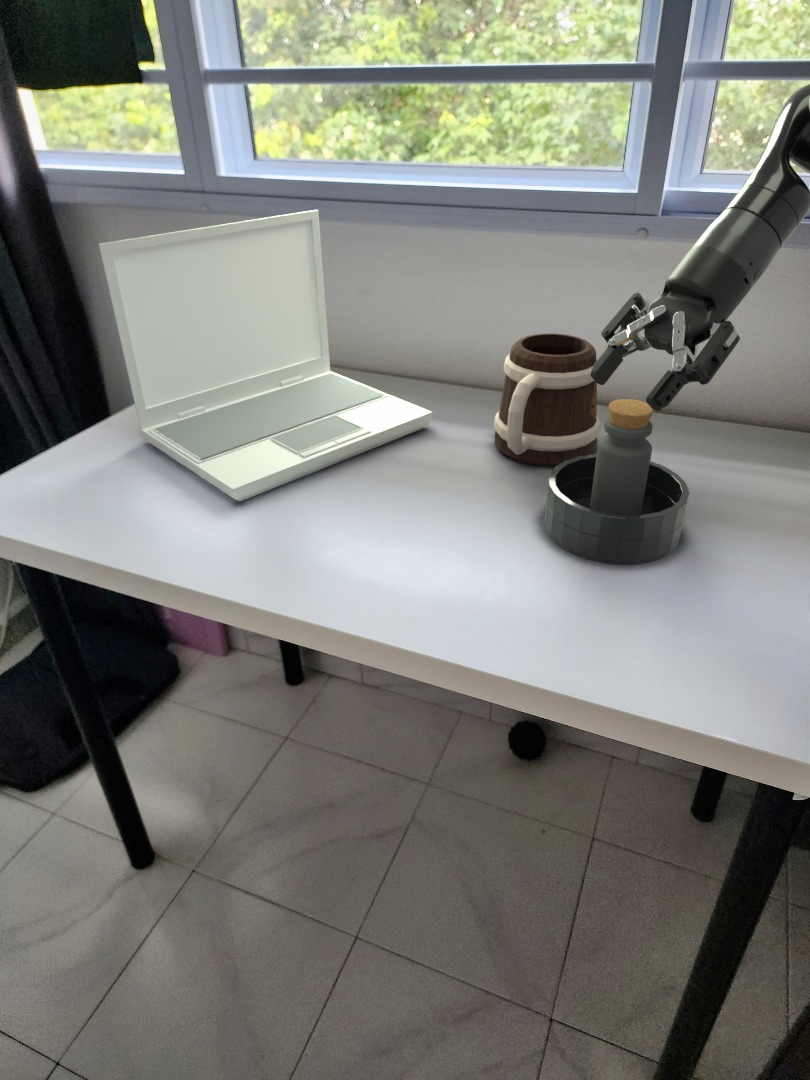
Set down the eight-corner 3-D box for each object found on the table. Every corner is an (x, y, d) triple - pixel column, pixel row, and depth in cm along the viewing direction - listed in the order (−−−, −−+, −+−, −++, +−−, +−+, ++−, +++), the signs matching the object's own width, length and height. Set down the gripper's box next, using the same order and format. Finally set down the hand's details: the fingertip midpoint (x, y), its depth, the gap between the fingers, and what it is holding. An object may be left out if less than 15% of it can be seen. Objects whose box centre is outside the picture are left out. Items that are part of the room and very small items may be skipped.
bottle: (577, 519, 90) (592, 402, 82) (616, 508, 92) (634, 393, 84) (608, 542, 86) (627, 421, 78) (648, 530, 88) (671, 411, 80)
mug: (518, 417, 118) (525, 321, 109) (611, 437, 111) (626, 337, 103) (458, 467, 103) (460, 362, 95) (561, 494, 97) (573, 383, 88)
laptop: (235, 507, 95) (198, 277, 80) (141, 443, 112) (96, 243, 96) (432, 427, 115) (432, 230, 99) (327, 383, 131) (314, 209, 116)
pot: (701, 523, 90) (711, 479, 87) (640, 582, 80) (649, 534, 77) (586, 484, 99) (591, 442, 96) (519, 532, 89) (522, 488, 86)
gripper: (656, 232, 81) (562, 354, 82) (767, 256, 70) (657, 395, 72) (683, 276, 86) (594, 391, 87) (791, 305, 75) (687, 434, 77)
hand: (622, 393), depth 80 cm, fingers open, 8 cm apart
